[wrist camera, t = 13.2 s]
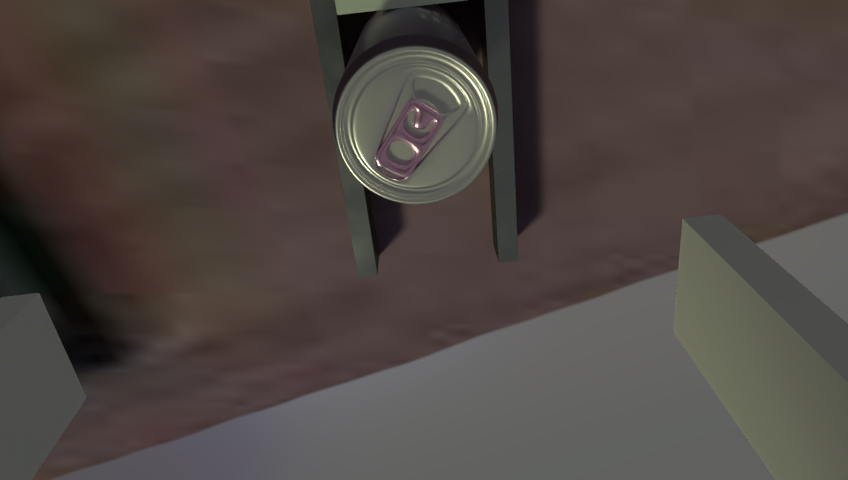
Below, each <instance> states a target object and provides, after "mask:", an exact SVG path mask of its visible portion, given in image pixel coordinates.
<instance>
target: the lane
mask: <svg viewBox="0 0 848 480" xmlns="http://www.w3.org/2000/svg"><path fill="white" fill-rule="evenodd" d="M310 4H311V10H312V15H313V21H314V27H315V33H316V38H317V44H318V50H319V56H320V61H321V67H322V73H323V78H324V84H325V90H326V96H327V101H328V107H329V113H330V118H331V124H332V130H333V123H332V109H333V102H334V97H335V93H336V90H337V88H338V85H339V83H340V80H341V78H342V76H343V73H344V71H345V69H346V67H347V64H348V62H349V58H348V52H347V45H346V39H345V32H344V26H343V19H342V15H337V11H336V5H335V0H310ZM479 5H480V22H481V39H482V56H483V69H484V71H485V72H486V74H487V76H488V78H489V80H490V81H491V84H492V86H493V89H494V92H495V95H496V99H497V105H498V128H497V133H496V139H495V143H494V147H493V150H492V153H491V155H490V158H489V175H490V192H491V209H492V226H493V243H494V247H495V251H496V255H497V258H498V262H509V261H518V240H517V215H516V189H515V164H514V138H513V112H512V87H511V61H510V36H509V10H508V0H479ZM333 136H334V141H335V147H336V153H337V159H338V164H339V170H340V176H341V181H342V187H343V193H344V199H345V204H346V210H347V216H348V222H349V227H350V233H351V239H352V244H353V250H354V256H355V262H356V267H357V273H358V277H364V276H374V275H378V263H379V253H378V246H377V240H376V233H375V227H374V220H373V214H372V207H371V201H370V194H369V189H367V188H366V187H365V186H363V185H362V184H361V183H360V182H359V181H358V180H357V179H356V178H355V177H354V176H353V175H352V173H351V172H350V171H349V169H348V168H347V166H346V165H345V163H344V161H343V159H342V157H341V155H340V152H339V149H338V146H337V142H336V139H335V135H334V131H333Z"/></svg>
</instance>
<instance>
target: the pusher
mask: <svg viewBox="0 0 848 480" xmlns="http://www.w3.org/2000/svg"><path fill="white" fill-rule="evenodd" d="M458 1H466V0H335V5H336V11H337V15H342V14H351V13H360V12H369V11H378V10H387V9H396V8H404V7H413V6H422V5H431V4H440V3H449V2H458Z"/></svg>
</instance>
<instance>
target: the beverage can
mask: <svg viewBox="0 0 848 480" xmlns="http://www.w3.org/2000/svg"><path fill="white" fill-rule="evenodd" d="M332 123H333V131H334V135H335V139H336V142H337V146H338V149H339V152H340V155H341V157H342V159H343V161H344V163H345V165H346V166H347V168H348V169H349V171H350V172H351V173H352V175H353V176H354V177H355V178H356V179H357V180H358V181H359V182H360V183H361V184H362V185H363V186H365V187H366V188H367V189H369V190H370V191H372V192H373V193H375V194H377V195H379V196H381V197H383V198H386V199H388V200H391V201H395V202H399V203H405V204H426V203H432V202H436V201H440V200H443V199H446V198H448V197H450V196H452V195H454V194H456V193H458V192H460V191H461V190H463V189H464V188H465V187H467V186H468V185H469V184H470V183H471V182H472V181H473V180H474V179H475V178H476V177H477V176H478V175H479V174H480V172H481V171H482V170H483V168H484V167H485V165H486V163H487V162H488V160H489V158H490V155H491V153H492V150H493V147H494V143H495V139H496V133H497V128H498V105H497V99H496V95H495V92H494V89H493V86H492V84H491V81H490V80H489V78H488V76H487V74H486V72H485V71H484V69H483V67H482V65H481V64H480V62H479V60H478V58H477V57H476V55H475V53H474V51H473V50H472V48H471V46H470V45H469V43H468V41H467V39H466V38H465V36H464V34H463V32H462V31H461V29H460V27H459V25H458V24H457V22H456V21H455V19H454V18H453V17H452V16H451V15H450V14H449V13H448V12H447V11H446V10H445V9H443V8H442V7H441V6H439V5H437V4H431V5H422V6H413V7H404V8H396V9H387V10H378V11H376V12H375V13H374V14H373V15H372V16H371V17H370V18H369V20H368V21H367V23H366V24H365V26H364V28H363V30H362V32H361V35H360V37H359V39H358V41H357V44H356V46H355V48H354V51H353V53H352V55H351V57H350V60H349V62H348V64H347V67H346V69H345V71H344V73H343V76H342V78H341V80H340V83H339V85H338V88H337V90H336V93H335V97H334V102H333V109H332Z"/></svg>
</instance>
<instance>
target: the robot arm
mask: <svg viewBox="0 0 848 480" xmlns="http://www.w3.org/2000/svg"><path fill="white" fill-rule="evenodd" d="M673 333H674V334H675V335H676V337H677V338H678V340H679V341H680V343H681V344H682V346H683V347H684V348H685V350H686V351H687V353H688V354H689V356H690V357H691V359H692V360H693V361H694V363H695V364H696V366H697V367H698V369H699V370H700V372H701V373H702V374H703V376H704V377H705V379H706V380H707V381H708V383H709V385H710V386H711V387H712V389H713V390H714V392H715V393H716V394H717V396H718V397H719V399H720V400H721V402H722V403H723V405H724V406H725V407H726V409H727V410H728V412H729V413H730V415H731V416H732V418H733V419H734V421H735V422H736V423H737V425H738V426H739V428H740V429H741V431H742V432H743V434H744V435H745V436H746V438H747V439H748V441H749V442H750V444H751V445H752V447H753V448H754V449H755V451H756V452H757V454H758V455H759V457H760V458H761V459H762V461H763V462H764V464H765V465H766V467H767V468H768V470H769V471H770V472H771V474H772V475H773V477H774V478H775V479H776V480H848V324H847V323H846V322H845V321H844V320H843V319H841V318H840V317H839V316H838V315H837V314H836V313H835V312H833V311H832V310H831V309H830V308H829V307H828V306H826V305H825V304H824V303H823V302H822V301H821V300H820V299H818V298H817V297H816V296H815V295H814V294H812V293H811V292H810V291H809V290H808V289H807V288H805V287H804V286H803V285H802V284H801V283H800V282H799V281H797V280H796V279H795V278H794V277H793V276H792V275H791V274H789V273H788V272H787V271H786V270H785V269H783V268H782V267H781V266H780V265H779V264H778V263H776V262H775V261H774V260H773V259H772V258H771V257H770V256H769V255H767V254H766V253H765V252H764V251H763V250H762V249H760V248H759V247H758V246H757V245H756V244H755V243H753V242H752V241H751V240H750V239H749V238H748V237H747V236H745V235H744V234H743V233H742V232H741V231H740V230H738V229H737V228H736V227H735V226H734V225H733V224H731V223H730V222H729V221H728V220H727V219H726V218H725V217H723V216H722V215H721V214H720V215H711V216H702V217H694V218H685V219H683V221H682V232H681V244H680V256H679V268H678V280H677V292H676V304H675V314H674V326H673ZM85 400H86V395H85V393H84V391H83V389H82V387H81V384H80V382H79V380H78V378H77V376H76V373H75V371H74V369H73V367H72V365H71V362H70V360H69V358H68V356H67V354H66V351H65V349H64V347H63V345H62V343H61V340H60V338H59V336H58V334H57V332H56V329H55V327H54V325H53V323H52V321H51V319H50V316H49V314H48V312H47V310H46V308H45V305H44V303H43V301H42V299H41V297H40V294H39V293H35V294H26V295H17V296H9V297H2V298H1V299H0V480H32V478H33V477H34V475H35V474H36V472H37V471H38V469H39V468H40V466H41V465H42V463H43V462H44V460H45V459H46V457H47V456H48V454H49V453H50V451H51V450H52V448H53V447H54V446H55V444H56V443H57V441H58V440H59V438H60V437H61V435H62V434H63V432H64V431H65V429H66V428H67V426H68V425H69V423H70V422H71V420H72V419H73V417H74V416H75V414H76V413H77V411H78V410H79V408H80V407H81V406H82V404H83V403H84V401H85Z"/></svg>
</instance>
